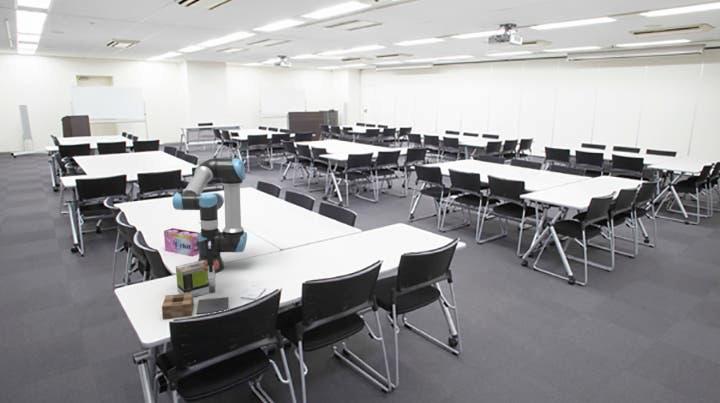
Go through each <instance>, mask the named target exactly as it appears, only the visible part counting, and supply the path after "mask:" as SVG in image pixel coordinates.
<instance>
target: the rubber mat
mask: <svg viewBox="0 0 720 403" xmlns="http://www.w3.org/2000/svg"><path fill="white" fill-rule="evenodd" d="M197 301H198V302H197V308H196V313H195V314H196V316H197V315H208V313H209V314H215V313H214V312H219V311H224V310H227V309H229V308H230V307H229V305H230V304H229V296H225V297H216V298H215V297H213V298H203V299H198V300H197ZM219 313H220V312H219Z"/></svg>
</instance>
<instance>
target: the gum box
mask: <svg viewBox="0 0 720 403" xmlns="http://www.w3.org/2000/svg"><path fill="white" fill-rule="evenodd" d="M199 233H200V232H199V231H192V230H185V229H179V228H174V227H172V228H170V229H169V228H168V229H166V230H163V236H164V238H163V239H164V249H165V250H164V251H165V252H168V253H173V252H174V253H175V254H179V255H183V256H188V257H194V256H196V255H199V245H198V235H199Z"/></svg>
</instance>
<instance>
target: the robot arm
mask: <svg viewBox="0 0 720 403" xmlns="http://www.w3.org/2000/svg"><path fill="white" fill-rule="evenodd" d="M193 173H194V175H193V176H192V178H191V179H190V181H189V183H187V186H186V187H185V189H184V190H183V192H181V193H175V194H174V195H173V196H172V206H173V209H174V210H180V211H199V217H200V221H198V224H200V232H198V233H199V235H198V245H199V254H198V260H197V261H202V260H205V261H206V260H207V264H206V266H208V279H211V278H214V263H213V259H216V260H218V261H219V269H217V270H215V274H216V273H219V272H221V271H223V270H224V269H225V263H224V261H223V258H222V256H221V253H243V252H244V251H245V248H246V244H247V240H248V233H247V232H246V231H245V229H244V228H243V226H242V220H241V218H242V215H241V185H242V184H243V181H245V179H246V167H245V164H244V162H243V160H242V159H240V158H231V157H230V158H227V157H226V158H220V157H219V158H218V157H215V158H213V157H212V158H210V159H209V158H208V159H207V160H205V161H203V162H201V163H199V165H198V166H196V168H195V170H194V172H193ZM212 180H220V184H221V185H222V186H223V193H224V194H223V195H222V194H221V193H219V192H213V193H204V194H202V193H203V191H204V190H205V188H206V186H207V185H208V183H209V182H211V181H212ZM223 196H224V197H223ZM223 205H224V222H225V223H224V224H225V226H224V228H223V229H222V231H220V229H219V228H218V227H219V218H218V217H219V216H218V210H220V209H221V208H222V207H223Z"/></svg>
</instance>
